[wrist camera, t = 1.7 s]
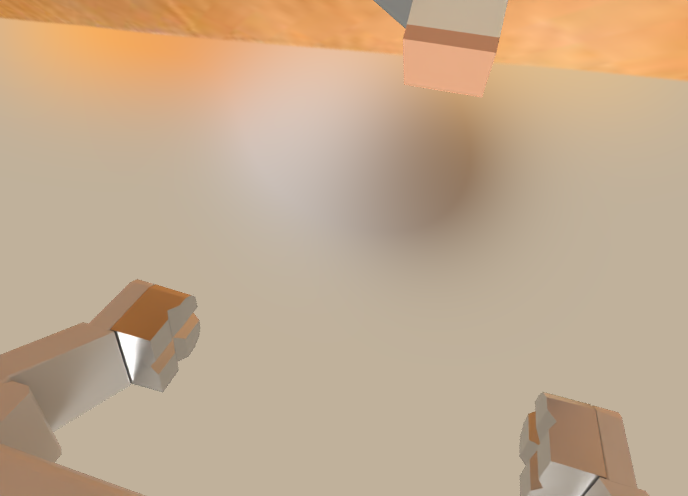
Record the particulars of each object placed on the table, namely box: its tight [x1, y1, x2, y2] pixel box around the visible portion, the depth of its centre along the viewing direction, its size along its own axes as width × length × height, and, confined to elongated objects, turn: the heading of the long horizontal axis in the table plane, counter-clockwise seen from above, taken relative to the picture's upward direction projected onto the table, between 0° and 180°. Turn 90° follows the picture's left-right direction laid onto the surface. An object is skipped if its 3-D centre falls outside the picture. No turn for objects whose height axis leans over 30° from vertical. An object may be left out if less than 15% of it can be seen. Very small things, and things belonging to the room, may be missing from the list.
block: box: [403, 0, 508, 97], centre depth 26 cm, size 4×4×8 cm
